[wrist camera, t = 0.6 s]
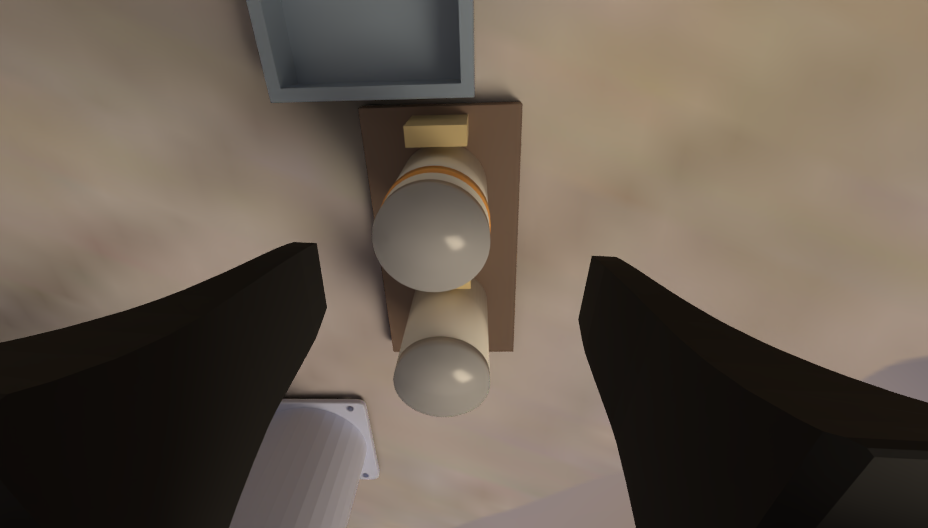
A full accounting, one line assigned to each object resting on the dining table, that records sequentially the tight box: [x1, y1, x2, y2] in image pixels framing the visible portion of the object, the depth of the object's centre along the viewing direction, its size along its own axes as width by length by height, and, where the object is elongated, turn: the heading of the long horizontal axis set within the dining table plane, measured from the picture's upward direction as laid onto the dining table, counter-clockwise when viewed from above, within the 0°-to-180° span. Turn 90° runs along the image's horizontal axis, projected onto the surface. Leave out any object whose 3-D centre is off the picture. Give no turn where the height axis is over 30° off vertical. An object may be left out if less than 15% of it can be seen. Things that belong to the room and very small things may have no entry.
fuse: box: [393, 278, 490, 417], centre depth 20 cm, size 4×4×6 cm
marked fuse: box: [372, 146, 491, 292], centre depth 16 cm, size 4×4×6 cm
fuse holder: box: [358, 102, 522, 352], centre depth 20 cm, size 7×14×3 cm, turn 2°
